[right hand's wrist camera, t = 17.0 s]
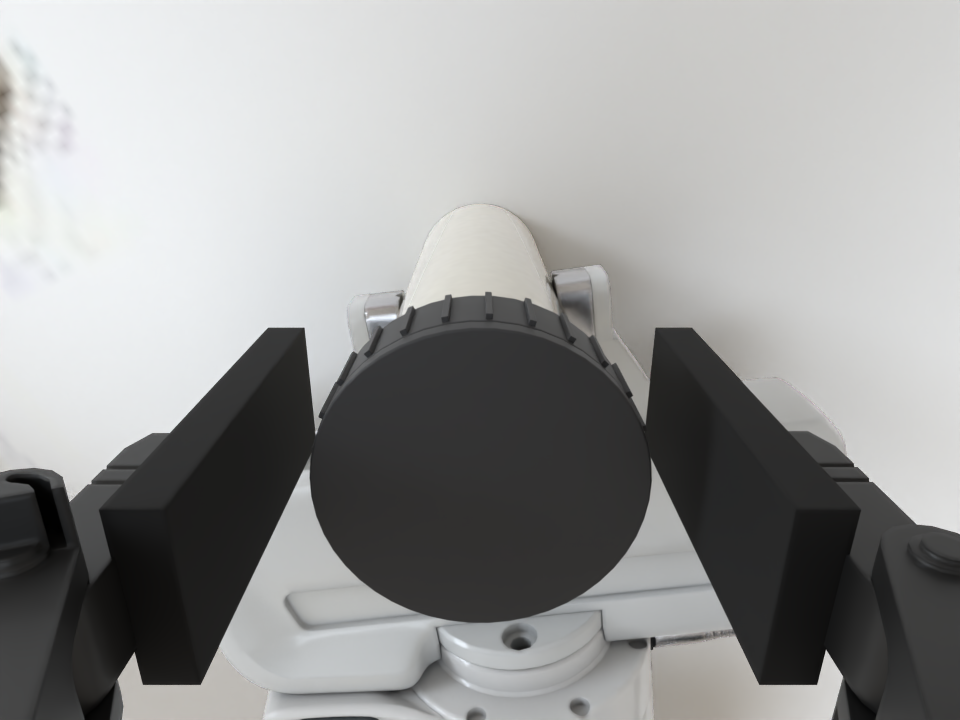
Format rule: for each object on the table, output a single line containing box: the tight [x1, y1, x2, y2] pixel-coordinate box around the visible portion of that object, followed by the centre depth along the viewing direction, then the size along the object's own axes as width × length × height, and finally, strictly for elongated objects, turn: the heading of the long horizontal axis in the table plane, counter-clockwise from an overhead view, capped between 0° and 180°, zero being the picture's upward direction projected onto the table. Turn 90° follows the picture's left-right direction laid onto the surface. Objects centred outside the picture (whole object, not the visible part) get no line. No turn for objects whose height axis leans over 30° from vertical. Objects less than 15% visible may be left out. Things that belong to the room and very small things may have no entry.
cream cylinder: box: [396, 204, 562, 319], centre depth 18 cm, size 4×4×15 cm
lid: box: [309, 292, 652, 623], centre depth 11 cm, size 6×6×2 cm
